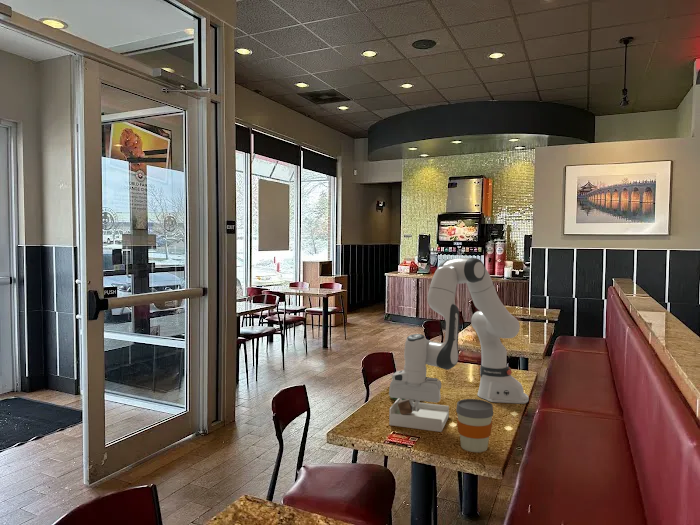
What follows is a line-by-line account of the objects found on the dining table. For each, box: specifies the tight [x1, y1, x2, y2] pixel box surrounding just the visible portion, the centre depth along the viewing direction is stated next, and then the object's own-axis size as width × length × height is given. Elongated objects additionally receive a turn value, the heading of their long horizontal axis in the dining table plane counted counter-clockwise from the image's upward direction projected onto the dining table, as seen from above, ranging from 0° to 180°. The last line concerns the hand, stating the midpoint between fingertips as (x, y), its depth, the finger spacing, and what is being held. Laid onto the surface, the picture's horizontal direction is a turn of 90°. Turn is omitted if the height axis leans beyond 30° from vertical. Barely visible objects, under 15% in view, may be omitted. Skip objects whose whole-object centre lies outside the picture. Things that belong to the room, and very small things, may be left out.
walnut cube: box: [398, 399, 413, 415], centre depth 204 cm, size 4×4×4 cm
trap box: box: [388, 398, 450, 433], centre depth 203 cm, size 20×17×6 cm
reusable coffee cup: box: [455, 398, 494, 453], centre depth 178 cm, size 13×13×15 cm
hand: (414, 410), depth 203 cm, fingers closed
